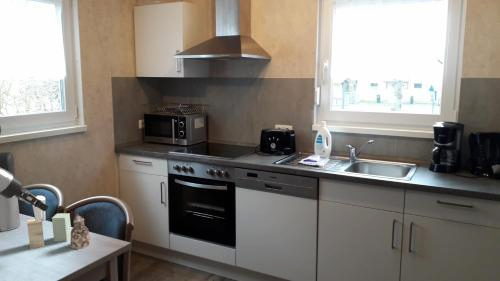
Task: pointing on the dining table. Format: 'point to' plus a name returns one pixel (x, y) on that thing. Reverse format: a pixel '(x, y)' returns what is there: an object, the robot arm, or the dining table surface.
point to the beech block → (35, 234)
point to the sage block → (61, 227)
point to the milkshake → (39, 210)
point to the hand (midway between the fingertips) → (43, 207)
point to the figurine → (79, 234)
